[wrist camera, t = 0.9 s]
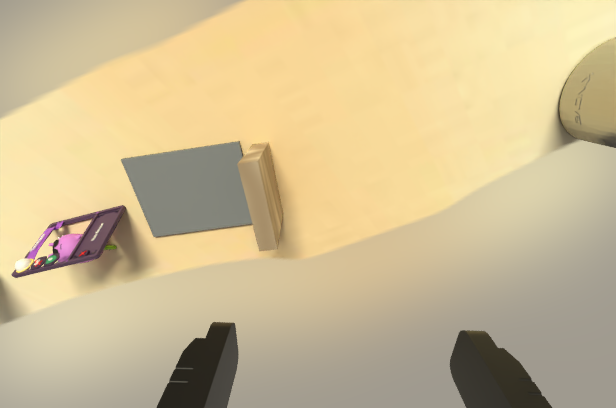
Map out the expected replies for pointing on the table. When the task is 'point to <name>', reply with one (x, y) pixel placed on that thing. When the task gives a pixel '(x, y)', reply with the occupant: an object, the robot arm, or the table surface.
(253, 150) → the tile
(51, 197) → the table surface
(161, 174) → the felt mat
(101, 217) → the purple toy case
